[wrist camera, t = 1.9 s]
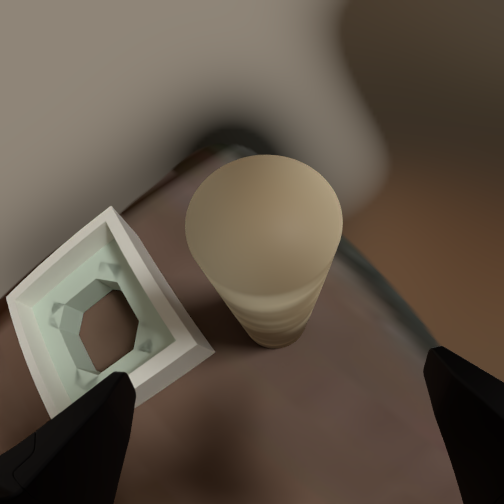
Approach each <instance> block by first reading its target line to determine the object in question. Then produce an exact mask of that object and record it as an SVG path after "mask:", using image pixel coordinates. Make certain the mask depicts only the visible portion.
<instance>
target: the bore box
mask: <svg viewBox="0 0 504 504" xmlns="http://www.w3.org/2000/svg"><path fill="white" fill-rule="evenodd" d="M113 289H114V290H120V291H122V292H123V294H124V295H125V297H126V299H127V301H128V303H129V304H130V306H131V308H132V310H133V311H134V313H135V315H136V317H137V318H138V320H139V324H138V329H137V334H136V339H135V345H134V349H133V350H132V351H131V352H129V353H128V354H126V355H125V356H124V357H122V358H121V359H120V360H118V361H117V362H116V363H114V364H113V365H111V366H110V367H109V368H107V369H106V370H105V371H103V372H98V371H96V369H95V367H94V365H93V363H92V361H91V359H90V357H89V356H88V354H87V351H86V349H85V347H84V345H83V343H82V341H81V339H80V337H79V331H80V327H81V322H82V317H83V313H84V312H85V311H86V310H88V309H89V308H90V307H91V306H93V305H94V304H95V303H96V302H98V301H99V300H100V299H101V298H103V297H104V296H105V295H107V294H108V293H109V292H110V291H112V290H113ZM6 299H7V303H8V307H9V310H10V314H11V317H12V321H13V324H14V327H15V331H16V334H17V337H18V340H19V343H20V346H21V349H22V352H23V354H24V357H25V360H26V362H27V365H28V368H29V370H30V373H31V375H32V378H33V380H34V383H35V385H36V387H37V390H38V392H39V394H40V396H41V399H42V401H43V403H44V405H45V407H46V409H47V411H48V414H49V416H50V418H51V419H52V418H54V417H55V416H56V415H58V414H59V413H60V412H62V411H63V410H64V409H65V408H67V407H68V406H69V405H71V404H72V403H73V402H75V401H76V400H77V399H78V398H80V397H81V396H82V395H84V394H85V393H86V392H88V391H89V390H90V389H92V388H93V387H94V386H95V385H97V384H98V383H99V382H101V381H102V380H103V379H104V378H106V377H107V376H108V375H110V374H111V373H112V372H115V371H119V372H126V373H127V374H128V376H129V378H130V380H131V382H132V384H133V386H134V388H135V391H136V401H135V407H134V408H136V407H137V406H139V405H140V404H142V403H143V402H145V401H146V400H148V399H149V398H151V397H152V396H154V395H155V394H157V393H158V392H160V391H161V390H163V389H164V388H166V387H167V386H168V385H170V384H171V383H173V382H174V381H176V380H177V379H179V378H180V377H181V376H183V375H184V374H186V373H187V372H189V371H190V370H191V369H193V368H194V367H196V366H197V365H198V364H200V363H201V362H203V361H204V360H205V359H207V358H208V357H210V356H211V355H212V354H214V353H215V351H214V349H213V348H212V347H211V345H210V344H209V342H208V341H207V340H206V338H205V337H204V336H203V334H202V333H201V331H200V330H199V328H198V327H197V326H196V324H195V323H194V321H193V320H192V318H191V317H190V316H189V314H188V313H187V311H186V310H185V308H184V307H183V305H182V304H181V302H180V301H179V299H178V298H177V296H176V295H175V293H174V292H173V290H172V289H171V287H170V286H169V284H168V283H167V281H166V280H165V278H164V277H163V275H162V274H161V272H160V271H159V269H158V267H157V266H156V264H155V263H154V261H153V260H152V258H151V256H150V255H149V253H148V252H147V250H146V248H145V247H144V245H143V243H142V242H141V240H140V239H139V237H138V235H137V234H136V233H135V232H134V231H133V230H132V229H131V228H130V226H129V225H128V224H127V223H126V222H125V221H124V220H123V219H122V217H121V216H120V215H119V214H118V213H117V212H116V211H115V210H114V208H113V207H112V206H110V207H109V208H108V209H106V210H105V211H104V212H102V213H101V214H100V215H99V216H97V217H96V218H95V219H94V220H92V221H91V222H90V223H88V224H87V225H86V226H85V227H84V228H82V229H81V230H80V231H79V232H77V233H76V234H75V235H74V236H73V237H71V238H70V239H69V240H68V241H67V242H65V243H64V244H63V245H62V246H61V247H60V248H58V249H57V250H56V251H55V252H54V253H53V254H52V255H50V256H49V257H48V258H47V259H46V260H45V261H44V262H43V263H42V264H40V265H39V266H38V267H37V268H36V269H35V270H34V271H33V272H32V273H31V274H30V275H29V276H27V277H26V278H25V279H24V280H23V281H22V282H21V283H20V284H19V285H18V286H17V287H16V288H15V289H14V290H13V291H12V292H11V293H10V294H9V295H8V296H7V297H6Z"/></svg>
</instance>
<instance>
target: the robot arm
mask: <svg viewBox="0 0 504 504" xmlns="http://www.w3.org/2000/svg"><path fill="white" fill-rule="evenodd" d="M423 373H424V378H425V381H426V385H427V389H428V392H429V396H430V400H431V404H432V408H433V411H434V415H435V418H436V421H437V424H438V426H439V429H440V432H441V435H442V437H443V440H444V443H445V446H446V449H447V452H448V455H449V458H450V461H451V464H452V467H453V470H454V473H455V476H456V480H457V483H458V486H459V490H460V493H461V497H462V500H463V504H504V382H502V381H500V380H499V379H497V378H495V377H494V376H492V375H490V374H489V373H487V372H485V371H484V370H482V369H480V368H479V367H477V366H475V365H474V364H472V363H470V362H469V361H467V360H465V359H464V358H462V357H460V356H459V355H457V354H455V353H453V352H452V351H450V350H448V349H447V348H445V347H443V346H438V347H434V348H431V349H430V350H429V352H428V355H427V359H426V362H425V365H424V370H423ZM135 401H136V391H135V388H134V386H133V384H132V382H131V380H130V378H129V376H128V374H127V373H126V372H119V371H115V372H112V373H111V374H110V375H108V376H107V377H106V378H104V379H103V380H102V381H101V382H99V383H98V384H97V385H95V386H94V387H93V388H92V389H90V390H89V391H88V392H86V393H85V394H84V395H82V396H81V397H80V398H78V399H77V400H76V401H75V402H73V403H72V404H71V405H69V406H68V407H67V408H65V409H64V410H63V411H62V412H60V413H59V414H58V415H56V416H55V417H54V418H52V419H51V420H50V421H48V422H47V423H46V424H44V425H43V426H42V427H40V428H39V429H38V430H37V431H36V432H34V433H32V434H31V435H30V436H29V437H27V438H26V439H24V440H23V441H22V442H20V443H19V444H17V445H16V446H14V447H13V448H11V449H10V450H8V451H7V452H5V453H3V454H2V455H0V504H113V503H114V499H115V494H116V490H117V486H118V482H119V478H120V474H121V470H122V466H123V462H124V458H125V454H126V450H127V446H128V442H129V438H130V433H131V426H132V420H133V413H134V407H135Z"/></svg>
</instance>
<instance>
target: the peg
mask: <svg viewBox="0 0 504 504" xmlns="http://www.w3.org/2000/svg"><path fill="white" fill-rule="evenodd" d="M342 223H343V219H342V211H341V207H340V203H339V201H338V198H337V196H336V194H335V192H334V190H333V189H332V187H331V186H330V185H329V183H328V182H327V181H326V180H325V179H324V178H323V177H322V176H321V175H320V174H319V173H318V172H316V171H315V170H314V169H313V168H311V167H309V166H307V165H305V164H304V163H302V162H299V161H297V160H294V159H291V158H288V157H283V156H277V155H256V156H249V157H245V158H241V159H238V160H235V161H232V162H230V163H228V164H226V165H224V166H222V167H221V168H219V169H218V170H216V171H215V172H213V173H212V174H211V175H210V176H209V177H208V178H207V179H205V180H204V181H203V183H202V184H201V185H200V186H199V188H198V189H197V190H196V192H195V194H194V195H193V197H192V199H191V202H190V204H189V207H188V210H187V214H186V221H185V232H186V239H187V243H188V246H189V249H190V251H191V253H192V255H193V258H194V259H195V260H196V262H197V263H198V265H199V266H200V268H201V269H202V271H203V272H204V274H205V275H206V276H207V278H208V279H209V281H210V282H211V283H212V285H213V286H214V288H215V289H216V291H217V292H218V293H219V295H220V296H221V298H222V299H223V300H224V302H225V303H226V305H227V306H228V307H229V309H230V310H231V311H232V313H233V314H234V316H235V317H236V318H237V320H238V321H239V322H240V324H241V325H242V327H243V328H244V329H245V331H246V332H247V333H248V335H249V336H250V337H251V338H252V339H253V341H255V342H256V343H257V344H259V345H261V346H263V347H266V348H272V349H278V348H283V347H286V346H289V345H291V344H292V343H294V342H295V341H296V340H297V339H298V338H299V337H300V336H301V335H302V333H303V331H304V329H305V327H306V324H307V322H308V320H309V317H310V315H311V313H312V310H313V308H314V305H315V303H316V301H317V298H318V296H319V293H320V291H321V288H322V286H323V283H324V281H325V278H326V276H327V273H328V271H329V268H330V266H331V263H332V260H333V258H334V255H335V253H336V250H337V247H338V244H339V242H340V239H341V234H342Z"/></svg>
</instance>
